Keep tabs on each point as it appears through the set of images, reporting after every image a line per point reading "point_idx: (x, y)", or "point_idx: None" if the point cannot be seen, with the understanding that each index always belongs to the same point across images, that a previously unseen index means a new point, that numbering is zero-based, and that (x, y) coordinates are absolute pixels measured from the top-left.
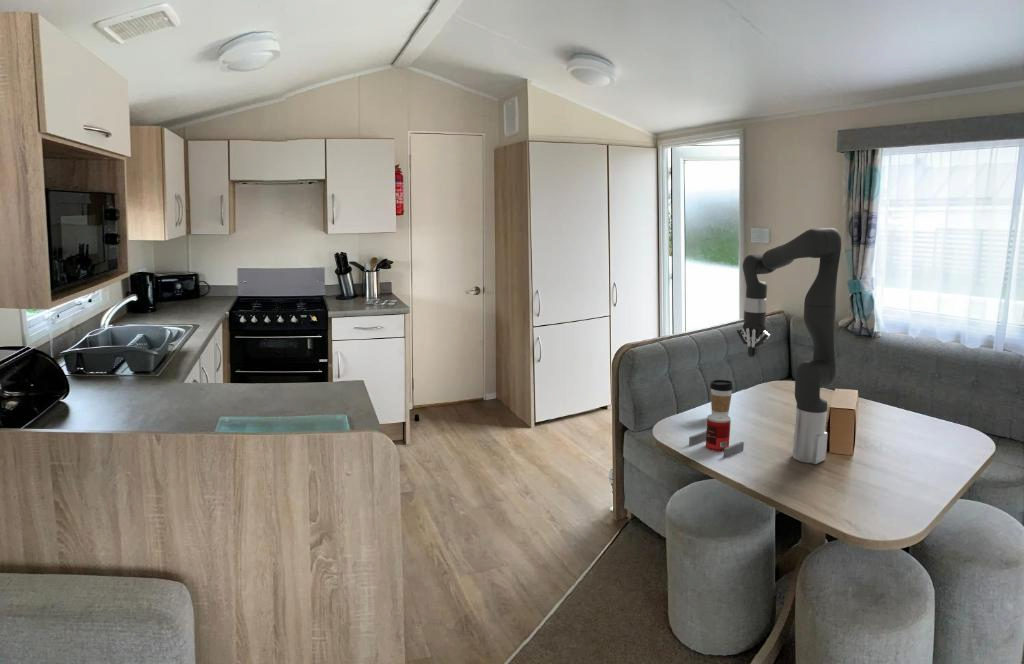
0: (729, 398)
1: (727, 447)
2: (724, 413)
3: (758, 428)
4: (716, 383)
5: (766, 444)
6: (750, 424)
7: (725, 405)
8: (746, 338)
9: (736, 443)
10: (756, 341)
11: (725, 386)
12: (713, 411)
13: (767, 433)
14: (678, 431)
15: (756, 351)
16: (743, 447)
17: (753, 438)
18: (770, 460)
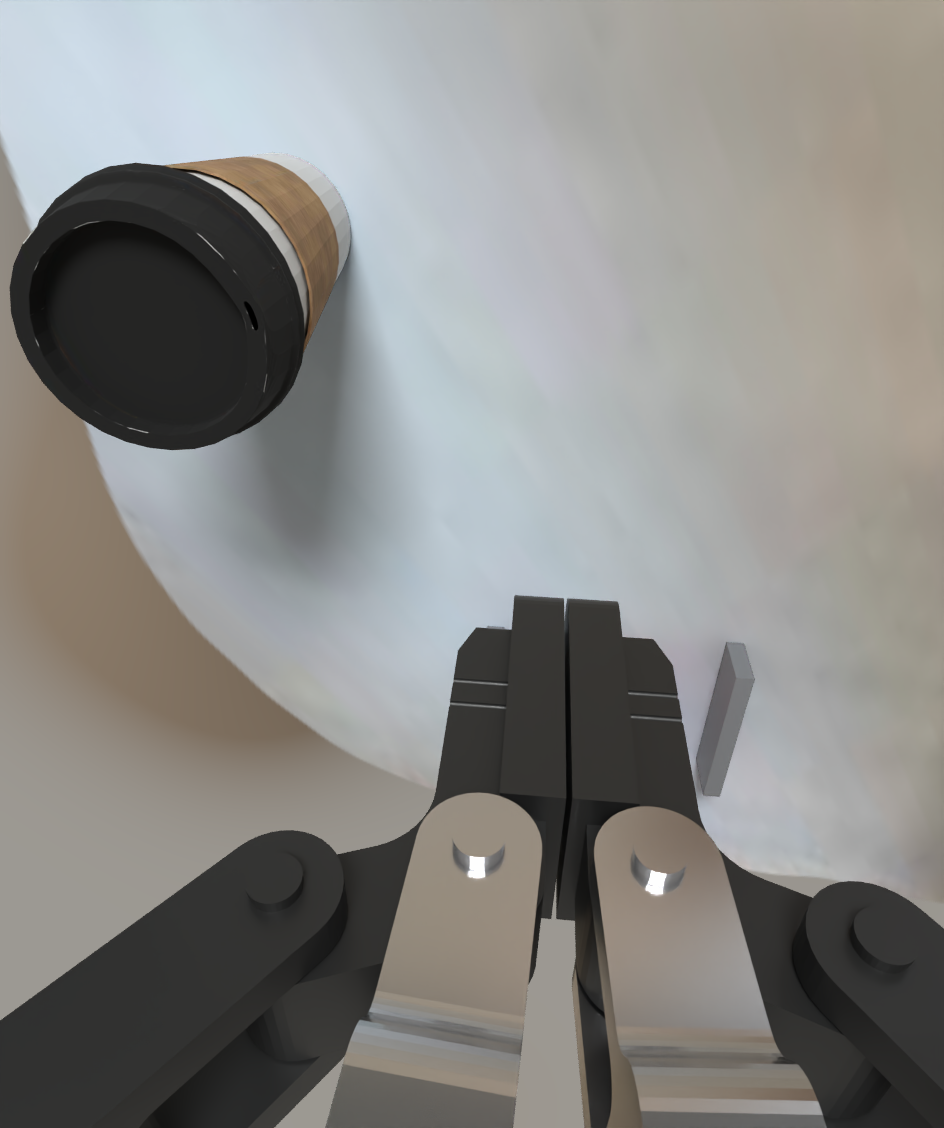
0: (317, 288)
1: (712, 779)
2: (335, 280)
3: (648, 197)
4: (92, 340)
5: (830, 474)
6: (546, 150)
7: (323, 307)
8: (167, 1035)
9: (727, 716)
10: (677, 1038)
11: (263, 404)
12: (251, 317)
13: (759, 258)
14: (310, 633)
15: (678, 747)
16: (747, 655)
17: (712, 436)
18: (927, 666)
